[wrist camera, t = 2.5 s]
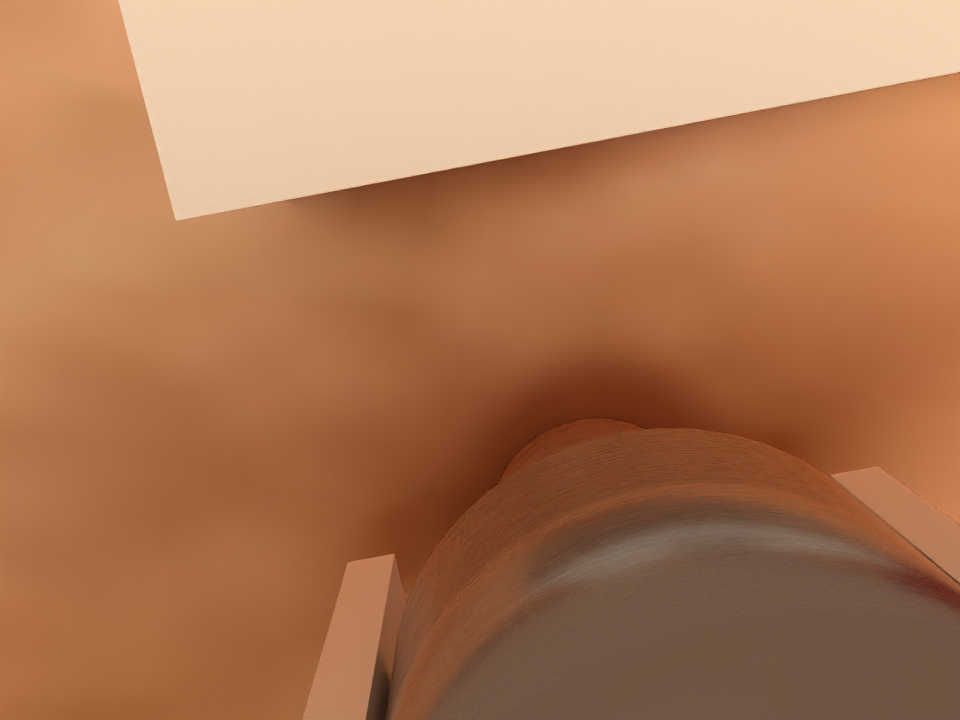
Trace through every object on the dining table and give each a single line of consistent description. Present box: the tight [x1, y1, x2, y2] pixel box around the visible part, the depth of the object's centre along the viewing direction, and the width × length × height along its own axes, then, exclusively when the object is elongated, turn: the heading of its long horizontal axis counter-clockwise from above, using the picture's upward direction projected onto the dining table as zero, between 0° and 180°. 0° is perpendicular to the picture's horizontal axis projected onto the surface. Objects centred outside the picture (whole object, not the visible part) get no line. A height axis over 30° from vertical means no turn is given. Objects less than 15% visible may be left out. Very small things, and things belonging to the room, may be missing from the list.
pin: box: [385, 418, 960, 720], centre depth 12 cm, size 7×7×10 cm
